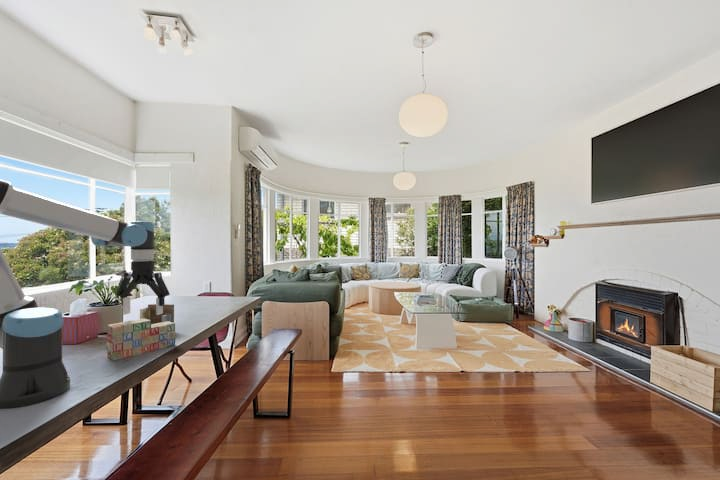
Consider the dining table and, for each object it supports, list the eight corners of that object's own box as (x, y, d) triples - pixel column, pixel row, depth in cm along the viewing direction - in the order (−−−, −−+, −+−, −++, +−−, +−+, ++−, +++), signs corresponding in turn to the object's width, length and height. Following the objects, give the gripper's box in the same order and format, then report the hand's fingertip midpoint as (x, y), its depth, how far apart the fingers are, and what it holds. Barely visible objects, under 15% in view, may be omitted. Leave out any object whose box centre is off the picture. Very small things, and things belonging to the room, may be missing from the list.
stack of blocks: (168, 342, 135) (168, 313, 135) (175, 345, 131) (175, 315, 131) (106, 357, 117) (107, 324, 117) (112, 361, 114) (112, 327, 114)
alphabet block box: (135, 348, 126) (135, 316, 126) (106, 348, 127) (106, 315, 127) (173, 331, 150) (174, 304, 150) (149, 331, 151) (150, 304, 151)
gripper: (179, 259, 127) (179, 312, 127) (120, 259, 129) (120, 311, 129) (166, 261, 120) (167, 316, 120) (104, 260, 121) (104, 315, 121)
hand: (143, 314), depth 124 cm, fingers open, 13 cm apart
